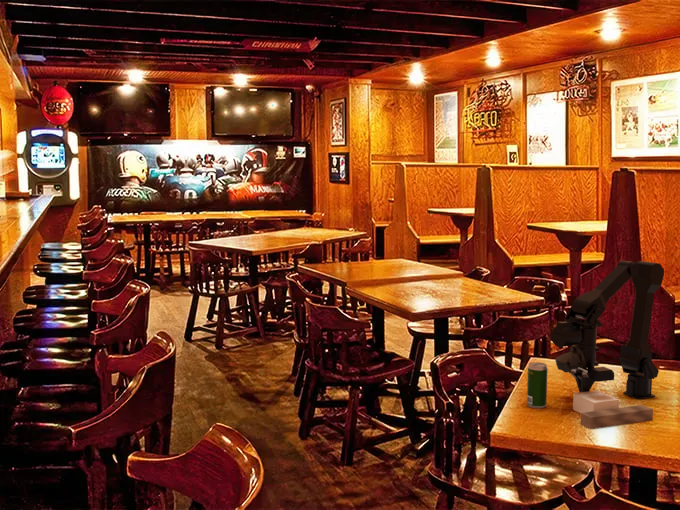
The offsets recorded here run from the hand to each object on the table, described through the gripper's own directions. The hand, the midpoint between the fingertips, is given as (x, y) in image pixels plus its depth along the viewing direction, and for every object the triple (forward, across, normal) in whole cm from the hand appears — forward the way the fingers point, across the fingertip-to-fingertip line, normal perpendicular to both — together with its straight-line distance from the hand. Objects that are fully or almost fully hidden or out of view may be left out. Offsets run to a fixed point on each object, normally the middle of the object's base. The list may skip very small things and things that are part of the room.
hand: (583, 397), depth 216 cm
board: (+2, +14, 0) cm, 14 cm away
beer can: (+3, -5, -12) cm, 13 cm away
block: (+3, +6, 0) cm, 7 cm away
